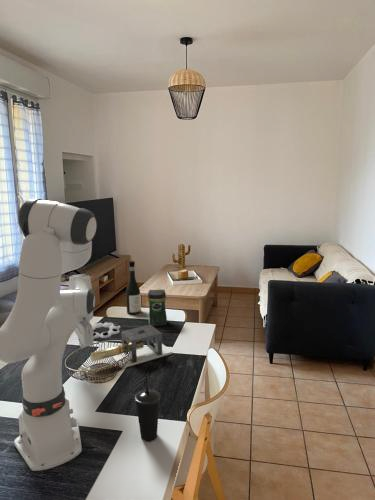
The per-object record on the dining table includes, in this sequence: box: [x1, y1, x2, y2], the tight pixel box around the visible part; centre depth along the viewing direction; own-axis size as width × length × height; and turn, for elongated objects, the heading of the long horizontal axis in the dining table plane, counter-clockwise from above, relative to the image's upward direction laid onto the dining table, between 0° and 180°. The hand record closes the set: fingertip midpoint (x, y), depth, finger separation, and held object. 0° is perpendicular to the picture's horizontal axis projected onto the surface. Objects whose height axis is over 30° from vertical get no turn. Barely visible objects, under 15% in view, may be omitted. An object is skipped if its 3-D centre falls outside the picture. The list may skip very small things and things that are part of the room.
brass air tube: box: [90, 340, 145, 363], centre depth 159 cm, size 22×4×4 cm, turn 122°
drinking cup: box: [134, 375, 161, 443], centre depth 113 cm, size 8×8×20 cm
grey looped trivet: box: [91, 321, 121, 339], centre depth 192 cm, size 20×20×2 cm
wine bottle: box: [125, 260, 142, 315], centre depth 213 cm, size 8×8×30 cm
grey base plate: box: [111, 343, 173, 369], centre depth 165 cm, size 24×11×1 cm, turn 122°
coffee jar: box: [147, 289, 168, 327], centre depth 198 cm, size 10×8×19 cm
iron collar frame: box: [121, 324, 163, 363], centre depth 164 cm, size 14×11×10 cm
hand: (82, 346), depth 150 cm, fingers closed
